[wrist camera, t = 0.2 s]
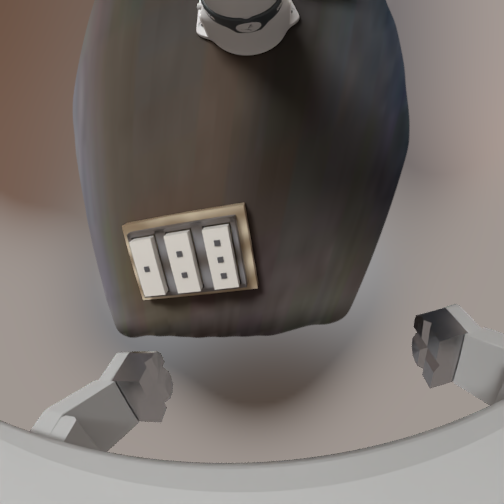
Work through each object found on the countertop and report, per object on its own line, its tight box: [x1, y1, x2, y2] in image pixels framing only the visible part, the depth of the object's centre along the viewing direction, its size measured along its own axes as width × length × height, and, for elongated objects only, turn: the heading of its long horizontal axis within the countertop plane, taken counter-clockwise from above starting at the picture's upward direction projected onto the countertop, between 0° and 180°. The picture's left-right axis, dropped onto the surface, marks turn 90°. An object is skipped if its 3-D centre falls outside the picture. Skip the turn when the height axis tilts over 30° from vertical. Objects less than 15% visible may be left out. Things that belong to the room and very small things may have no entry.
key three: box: [202, 224, 240, 290], centre depth 53 cm, size 11×4×2 cm, turn 9°
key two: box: [163, 230, 203, 294], centre depth 54 cm, size 11×4×2 cm, turn 9°
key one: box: [129, 236, 168, 297], centre depth 54 cm, size 11×4×2 cm, turn 9°
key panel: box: [122, 203, 258, 300], centre depth 57 cm, size 16×24×4 cm, turn 99°
